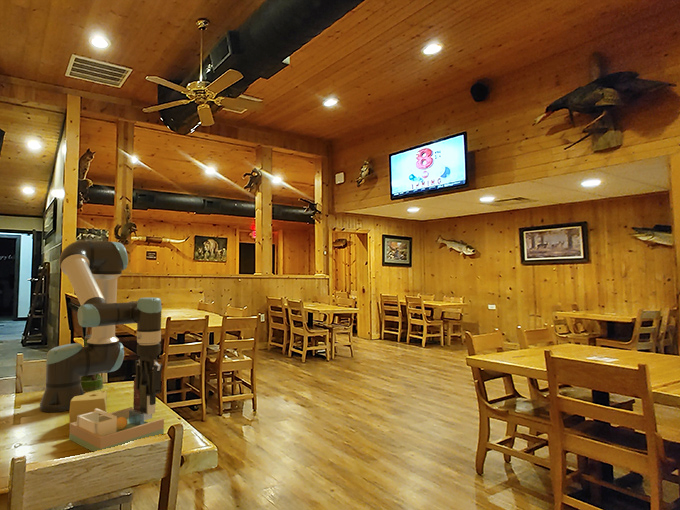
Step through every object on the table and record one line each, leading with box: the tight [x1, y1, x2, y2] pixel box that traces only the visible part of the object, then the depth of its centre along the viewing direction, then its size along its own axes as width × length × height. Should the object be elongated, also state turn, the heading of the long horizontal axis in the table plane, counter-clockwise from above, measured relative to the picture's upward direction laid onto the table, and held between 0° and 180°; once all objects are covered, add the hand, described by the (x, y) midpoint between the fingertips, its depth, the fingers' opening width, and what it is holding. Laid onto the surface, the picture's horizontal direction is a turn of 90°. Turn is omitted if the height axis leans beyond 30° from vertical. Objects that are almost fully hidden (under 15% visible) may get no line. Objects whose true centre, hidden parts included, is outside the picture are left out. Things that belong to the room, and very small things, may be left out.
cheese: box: [68, 390, 108, 424], centre depth 152 cm, size 10×11×10 cm
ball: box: [117, 417, 127, 430], centre depth 142 cm, size 4×4×4 cm
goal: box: [77, 408, 117, 436], centre depth 136 cm, size 12×6×7 cm, turn 54°
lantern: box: [81, 327, 104, 393], centre depth 197 cm, size 14×11×30 cm
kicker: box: [129, 383, 153, 426], centre depth 148 cm, size 7×6×12 cm
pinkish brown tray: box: [68, 407, 165, 452], centre depth 141 cm, size 20×20×5 cm
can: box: [132, 376, 140, 412], centre depth 162 cm, size 6×6×14 cm
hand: (147, 412), depth 149 cm, fingers closed on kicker, 3 cm apart
